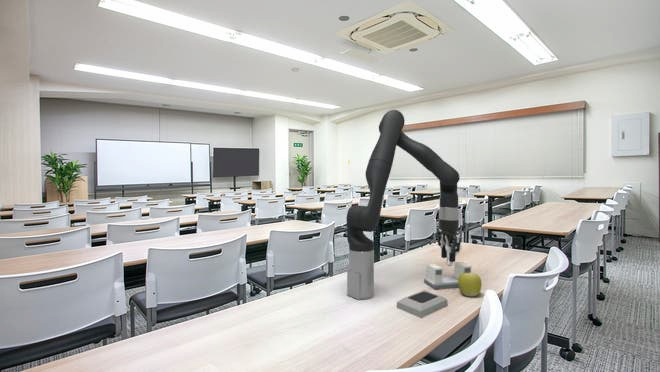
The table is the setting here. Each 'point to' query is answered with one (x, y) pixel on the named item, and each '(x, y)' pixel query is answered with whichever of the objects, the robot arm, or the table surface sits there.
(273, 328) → the table surface
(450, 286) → the rail board
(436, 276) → the block
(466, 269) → the block
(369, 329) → the table surface
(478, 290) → the apple
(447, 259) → the lightbulb
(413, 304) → the grey flat block
